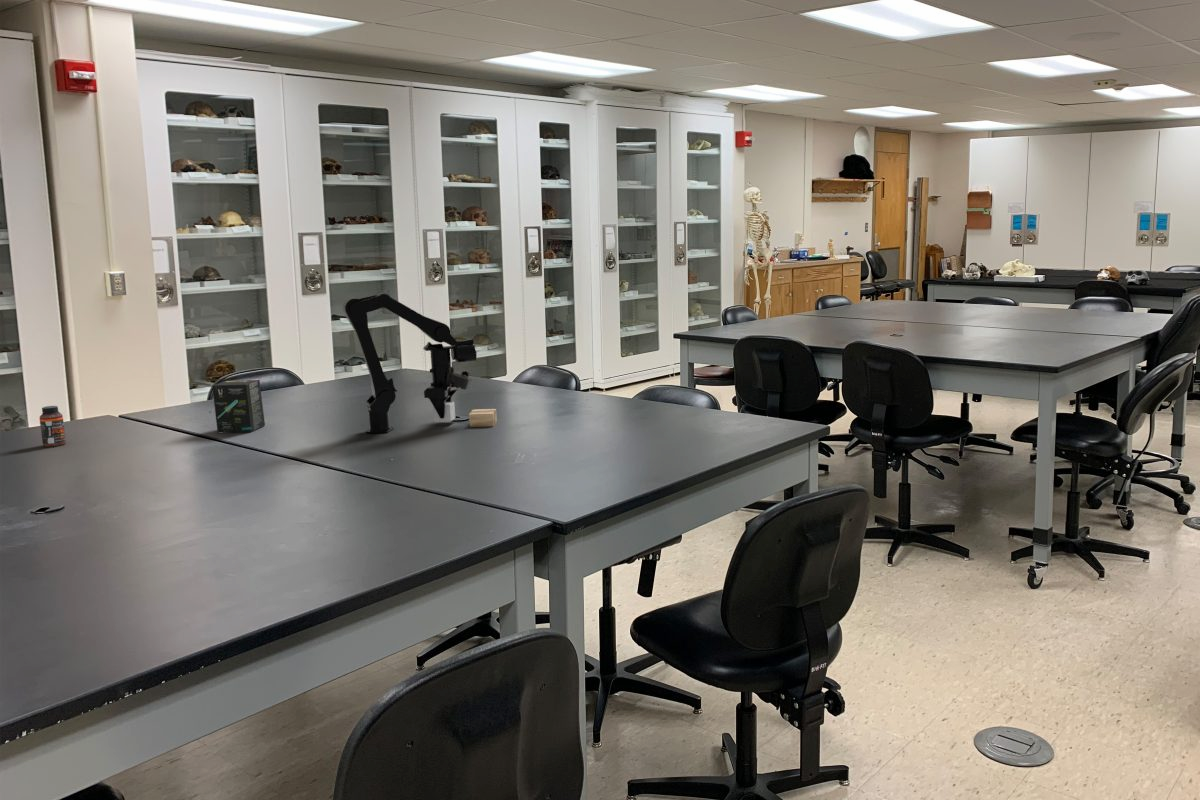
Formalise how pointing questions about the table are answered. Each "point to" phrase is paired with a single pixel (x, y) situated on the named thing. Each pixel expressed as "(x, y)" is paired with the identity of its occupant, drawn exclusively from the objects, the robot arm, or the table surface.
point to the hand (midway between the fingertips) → (444, 416)
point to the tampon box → (238, 406)
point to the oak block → (483, 417)
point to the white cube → (446, 413)
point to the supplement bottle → (52, 427)
